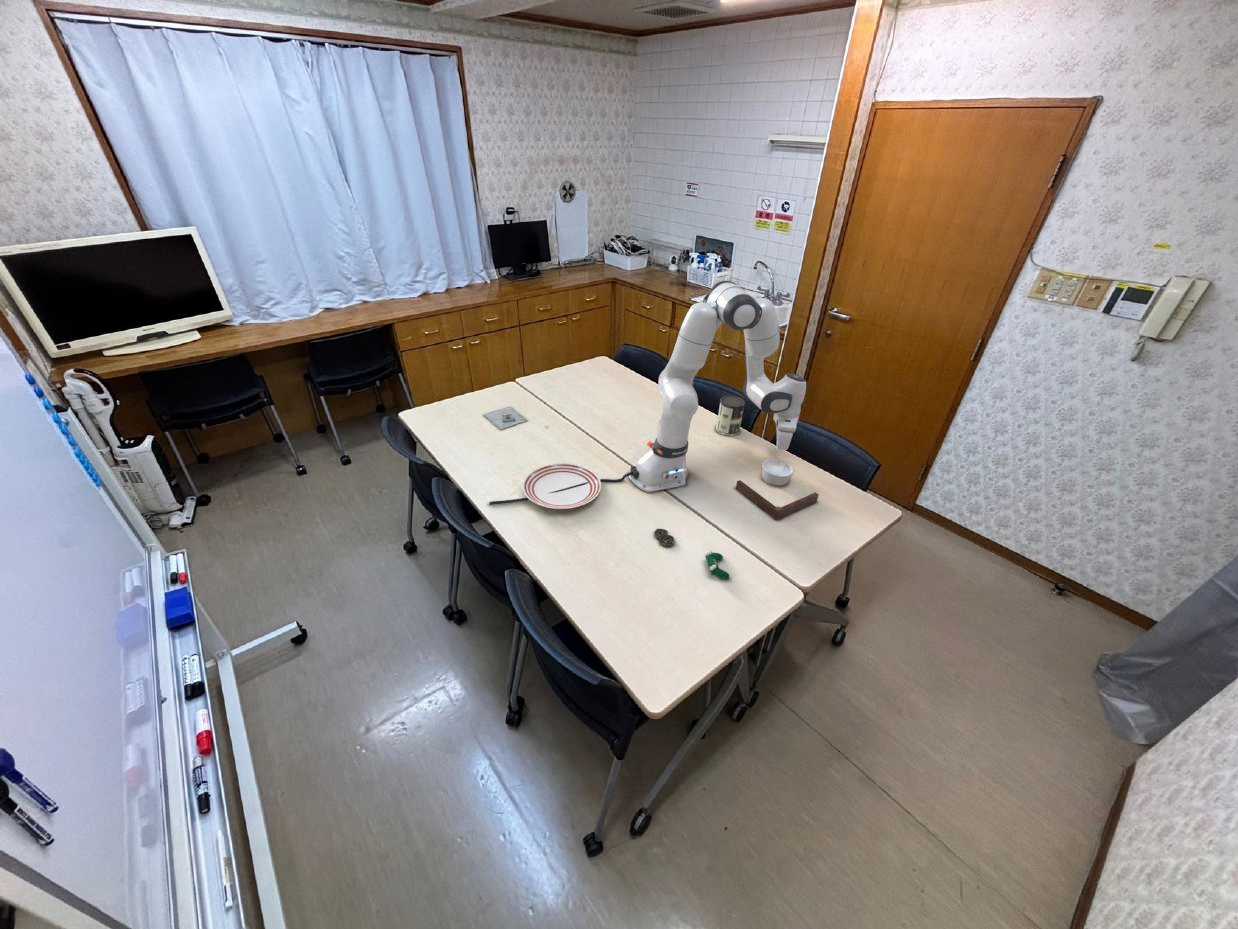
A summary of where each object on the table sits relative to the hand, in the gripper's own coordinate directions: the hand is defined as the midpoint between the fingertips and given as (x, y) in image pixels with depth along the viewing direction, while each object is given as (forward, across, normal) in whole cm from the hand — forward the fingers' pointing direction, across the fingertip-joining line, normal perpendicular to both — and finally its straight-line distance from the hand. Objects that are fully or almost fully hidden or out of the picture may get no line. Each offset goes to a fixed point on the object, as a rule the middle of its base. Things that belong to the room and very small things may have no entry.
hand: (778, 447), depth 192 cm
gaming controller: (+7, +64, -18) cm, 67 cm away
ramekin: (+7, +11, 0) cm, 13 cm away
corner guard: (+7, +22, 0) cm, 23 cm away
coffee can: (+7, -21, -20) cm, 30 cm away
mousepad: (+7, -1, -110) cm, 110 cm away
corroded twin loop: (+7, +55, -35) cm, 66 cm away
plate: (+7, +40, -74) cm, 85 cm away
